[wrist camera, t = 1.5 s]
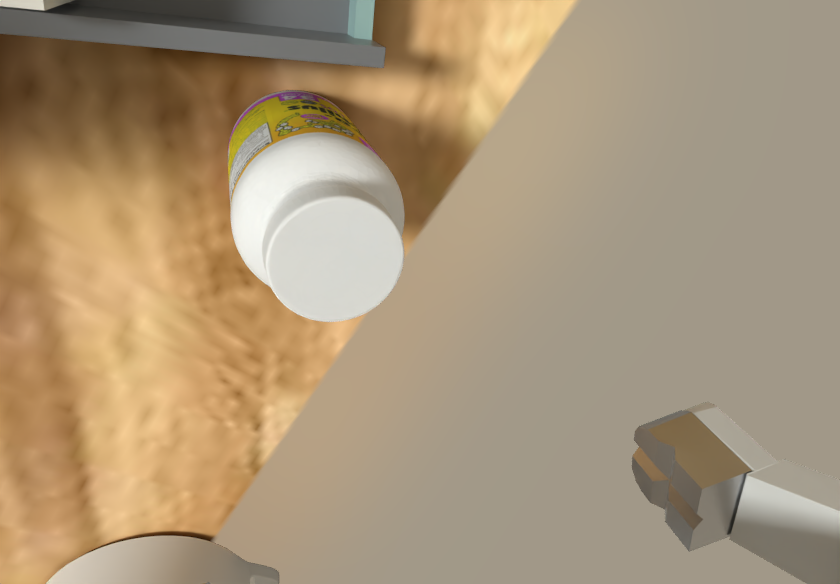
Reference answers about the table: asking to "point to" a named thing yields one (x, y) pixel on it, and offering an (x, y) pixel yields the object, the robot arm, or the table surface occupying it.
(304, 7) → the pusher lane
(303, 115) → the supplement bottle
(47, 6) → the plate
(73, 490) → the table surface
